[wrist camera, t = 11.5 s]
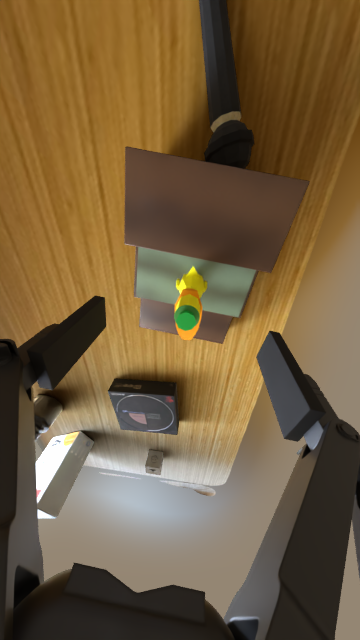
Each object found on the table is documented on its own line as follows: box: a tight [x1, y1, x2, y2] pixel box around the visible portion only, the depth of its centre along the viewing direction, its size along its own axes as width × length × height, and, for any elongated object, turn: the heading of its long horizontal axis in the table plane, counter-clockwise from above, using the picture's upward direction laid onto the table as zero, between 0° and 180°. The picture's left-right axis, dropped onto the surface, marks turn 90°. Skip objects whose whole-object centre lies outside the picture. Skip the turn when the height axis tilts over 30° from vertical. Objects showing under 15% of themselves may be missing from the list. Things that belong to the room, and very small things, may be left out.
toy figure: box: [174, 266, 207, 340], centre depth 20 cm, size 7×4×12 cm, turn 177°
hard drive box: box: [36, 431, 94, 518], centre depth 61 cm, size 16×8×20 cm, turn 120°
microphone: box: [199, 0, 254, 169], centre depth 20 cm, size 6×6×20 cm
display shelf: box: [125, 147, 309, 344], centre depth 27 cm, size 24×16×12 cm, turn 170°
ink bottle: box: [33, 395, 63, 441], centre depth 54 cm, size 10×9×12 cm
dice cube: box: [145, 450, 163, 475], centre depth 65 cm, size 5×5×5 cm
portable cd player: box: [108, 379, 179, 435], centre depth 51 cm, size 16×17×4 cm
